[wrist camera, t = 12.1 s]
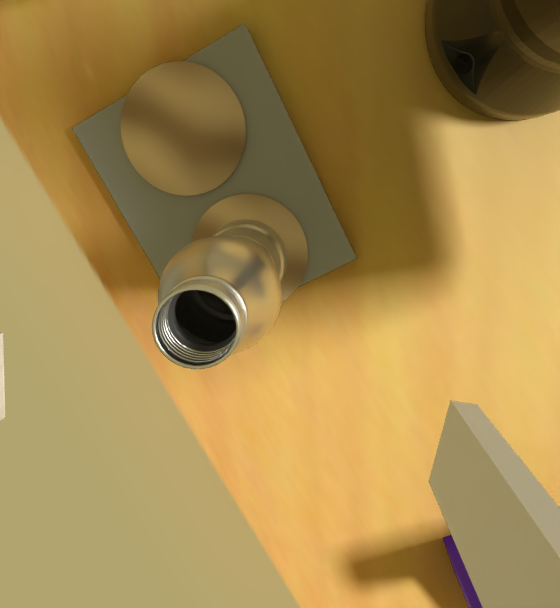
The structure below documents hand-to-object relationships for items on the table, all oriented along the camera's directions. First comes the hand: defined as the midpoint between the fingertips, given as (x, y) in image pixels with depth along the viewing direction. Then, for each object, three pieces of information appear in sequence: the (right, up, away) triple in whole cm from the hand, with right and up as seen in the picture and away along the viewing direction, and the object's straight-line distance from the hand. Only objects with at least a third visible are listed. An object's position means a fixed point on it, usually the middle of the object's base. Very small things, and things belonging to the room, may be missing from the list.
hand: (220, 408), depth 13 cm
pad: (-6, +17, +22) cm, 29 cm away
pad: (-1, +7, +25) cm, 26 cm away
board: (-3, +12, +25) cm, 28 cm away
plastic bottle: (-1, +7, +25) cm, 26 cm away
